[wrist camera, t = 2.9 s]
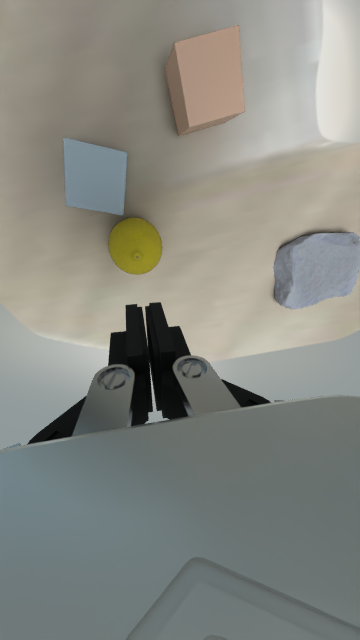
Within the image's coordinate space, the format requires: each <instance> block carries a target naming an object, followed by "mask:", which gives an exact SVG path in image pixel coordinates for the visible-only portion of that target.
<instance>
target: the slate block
mask: <svg viewBox="0 0 360 640" xmlns="http://www.w3.org/2000/svg"><path fill="white" fill-rule="evenodd" d="M63 146H64V170H65V195H66V206H70V207H76V208H82V209H88V210H94V211H99V212H105V213H111V214H117V215H123V213H124V198H125V182H126V167H127V152H123V151H119V150H115V149H110V148H106V147H102V146H98V145H94V144H89V143H85V142H81V141H77V140H73V139H68V138H64V137H63Z"/></svg>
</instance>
